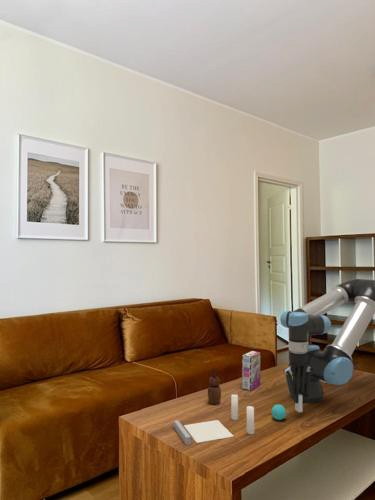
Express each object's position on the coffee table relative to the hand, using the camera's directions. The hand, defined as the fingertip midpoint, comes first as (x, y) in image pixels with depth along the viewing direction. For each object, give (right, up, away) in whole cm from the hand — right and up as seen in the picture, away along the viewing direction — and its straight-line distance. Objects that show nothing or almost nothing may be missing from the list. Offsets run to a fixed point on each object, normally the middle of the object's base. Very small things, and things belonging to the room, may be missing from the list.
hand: (298, 410), depth 149 cm
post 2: (-22, -2, -14) cm, 26 cm away
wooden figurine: (-33, -3, +14) cm, 36 cm away
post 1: (-26, -2, -2) cm, 26 cm away
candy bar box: (-13, -3, +34) cm, 36 cm away
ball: (-9, +1, -3) cm, 9 cm away
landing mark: (-37, -2, -13) cm, 39 cm away
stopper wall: (-46, -2, -16) cm, 49 cm away
